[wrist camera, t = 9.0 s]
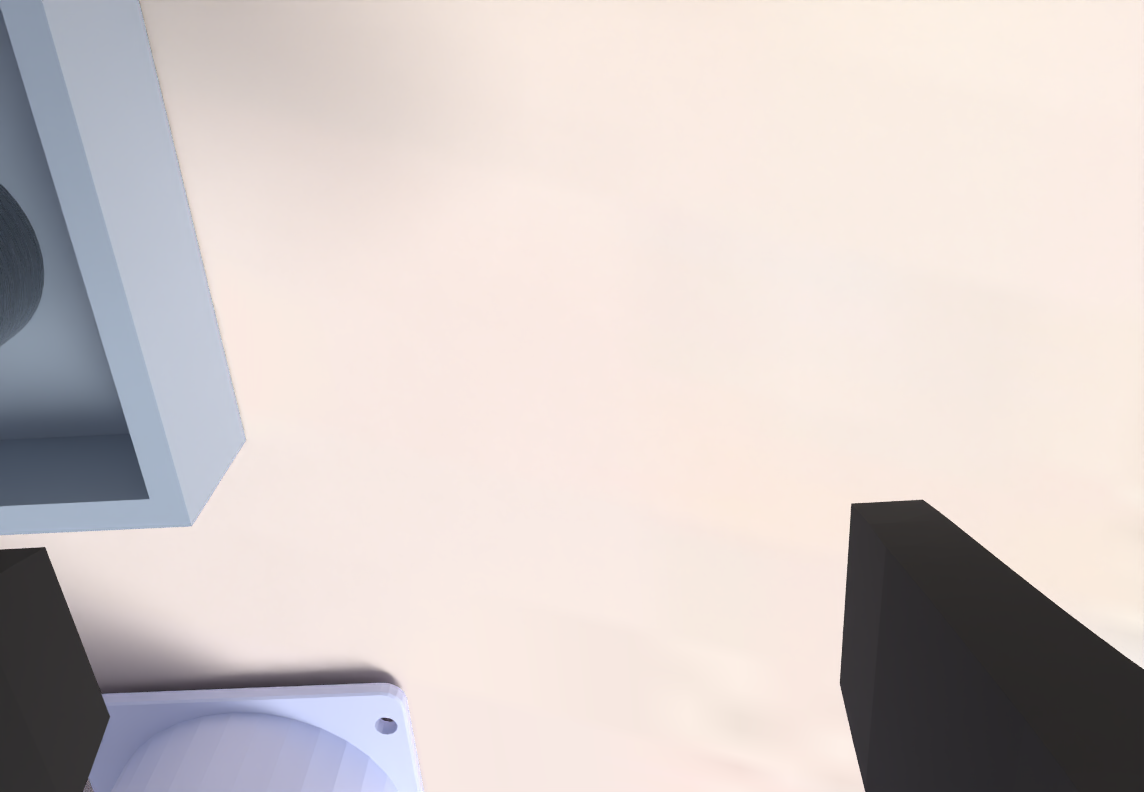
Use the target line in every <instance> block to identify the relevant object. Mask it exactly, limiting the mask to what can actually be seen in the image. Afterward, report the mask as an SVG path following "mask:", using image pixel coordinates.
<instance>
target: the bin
mask: <svg viewBox="0 0 1144 792" xmlns="http://www.w3.org/2000/svg"><path fill="white" fill-rule="evenodd" d="M0 184H2V185H3V186H4V187H5V188H6V189H7V190H8V192H9V193H10V194H11V195H12V196H13V198H14V199H15V200H16V201H17V202H18V204H19V205H20V207H21V208H22V210H23V211H24V213H25V214H26V216H27V218H28V220H29V221H30V223H31V225H32V227H33V229H34V231H35V234H36V237H37V239H38V242H39V245H40V249H41V253H42V257H43V264H44V287H43V292H42V297H41V300H40V303H39V305H38V308H37V310H36V312H35V314H34V315H33V317H32V319H31V320H30V321H29V322H28V324H27V325H26V326H25V327H24V328H23V329H22V330H21V331H20V332H19V333H17V334H16V335H15V336H14V337H12V338H11V339H10V340H9V341H7V342H6V343H5V344H3V345H2V346H1V347H0V535H14V534H35V533H57V532H78V531H100V530H122V529H143V528H165V527H187V526H192V525H193V524H194V522H195V520H196V519H197V517H198V516H199V514H200V512H201V511H202V509H203V508H204V506H205V505H206V503H207V501H208V500H209V498H210V497H211V495H212V493H213V492H214V490H215V489H216V487H217V485H218V484H219V482H220V481H221V479H222V478H223V476H224V474H225V473H226V471H227V470H228V468H229V466H230V465H231V463H232V462H233V460H234V459H235V457H236V455H237V454H238V452H239V451H240V449H241V447H242V446H243V444H244V443H245V441H246V438H245V434H244V430H243V426H242V422H241V417H240V413H239V409H238V405H237V401H236V397H235V393H234V389H233V385H232V381H231V376H230V372H229V368H228V364H227V360H226V356H225V352H224V348H223V344H222V339H221V335H220V331H219V327H218V323H217V319H216V315H215V311H214V307H213V303H212V298H211V294H210V290H209V286H208V282H207V278H206V274H205V270H204V266H203V262H202V257H201V253H200V249H199V245H198V241H197V237H196V233H195V229H194V225H193V220H192V216H191V212H190V208H189V204H188V200H187V196H186V192H185V188H184V184H183V179H182V175H181V171H180V167H179V163H178V159H177V155H176V151H175V147H174V143H173V138H172V134H171V130H170V126H169V122H168V118H167V114H166V110H165V106H164V101H163V97H162V93H161V89H160V85H159V81H158V77H157V73H156V69H155V65H154V60H153V56H152V52H151V48H150V44H149V40H148V36H147V32H146V28H145V24H144V19H143V15H142V11H141V7H140V3H139V0H0Z"/></svg>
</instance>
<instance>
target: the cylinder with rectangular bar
mask: <svg viewBox="0 0 1144 792" xmlns="http://www.w3.org/2000/svg"><path fill="white" fill-rule="evenodd" d="M43 287H44V264H43V257H42V253H41V249H40V245H39V242H38V239H37V237H36V234H35V231H34V229H33V227H32V225H31V223H30V221H29V220H28V218H27V216H26V214H25V213H24V211H23V210H22V208H21V207H20V205H19V204H18V202H17V201H16V200H15V199H14V198H13V196H12V195H11V194H10V193H9V192H8V190H7V189H6V188H5V187H4V186H3V185H2V184H0V347H1V346H2V345H3V344H5V343H6V342H7V341H9V340H10V339H11V338H12V337H14V336H15V335H16V334H17V333H19V332H20V331H21V330H22V329H23V328H24V327H25V326H26V325H27V324H28V322H29V321H30V320H31V319H32V317H33V315H34V314H35V312H36V310H37V308H38V305H39V303H40V300H41V297H42V292H43Z"/></svg>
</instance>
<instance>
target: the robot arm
mask: <svg viewBox="0 0 1144 792" xmlns="http://www.w3.org/2000/svg"><path fill="white" fill-rule="evenodd" d="M840 686H841V691H842V695H843V699H844V704H845V708H846V713H847V717H848V721H849V726H850V730H851V735H852V739H853V743H854V747H855V751H856V755H857V760H858V764H859V768H860V772H861V776H862V780H863V784H864V788H865V792H1144V669H1142V668H1141V667H1140V666H1138V665H1137V664H1135V663H1134V662H1133V661H1131V660H1130V659H1128V658H1127V657H1126V656H1124V655H1123V654H1122V653H1120V652H1119V651H1117V650H1116V649H1115V648H1113V647H1112V646H1111V645H1109V644H1108V643H1107V642H1105V641H1104V640H1103V639H1101V638H1100V637H1098V636H1097V635H1096V634H1094V633H1093V632H1092V631H1091V630H1089V629H1088V628H1087V627H1085V626H1084V625H1083V624H1081V623H1080V622H1079V621H1077V620H1076V619H1075V618H1073V617H1072V616H1071V615H1069V614H1068V613H1067V612H1065V611H1064V610H1063V609H1062V608H1060V607H1059V606H1058V605H1056V604H1055V603H1054V602H1053V601H1051V600H1050V599H1049V598H1047V597H1046V596H1045V595H1043V594H1042V593H1041V592H1040V591H1038V590H1037V589H1036V588H1034V587H1033V586H1032V585H1031V584H1029V583H1028V582H1027V581H1026V580H1024V579H1023V578H1022V577H1021V576H1019V575H1018V574H1017V573H1016V572H1014V571H1013V570H1012V569H1010V568H1009V567H1008V566H1007V565H1005V564H1004V563H1003V562H1002V561H1000V560H999V559H998V558H997V557H995V556H994V555H993V554H992V553H990V552H989V551H988V550H987V549H985V548H984V547H983V546H982V545H980V544H979V543H978V542H977V541H975V540H974V539H973V538H972V537H970V536H969V535H968V534H967V533H965V532H964V531H963V530H962V529H960V528H959V527H958V526H957V525H955V524H954V523H953V522H951V521H950V520H949V519H948V518H946V517H945V516H944V515H942V514H941V513H940V512H939V511H937V510H936V509H935V508H933V507H932V506H931V505H929V504H928V503H927V502H925V501H924V500H911V501H892V502H874V503H855V504H851V519H850V534H849V550H848V565H847V581H846V596H845V612H844V627H843V643H842V658H841V674H840ZM384 717H385V718H391V719H392V720H394V721H392V722H388V721H384V720H383V719H381V718H384ZM88 778H89V781H90V783H91V786H92V788H93V791H94V792H424V789H423V783H422V778H421V772H420V767H419V761H418V756H417V751H416V745H415V740H414V734H413V729H412V723H411V718H410V713H409V707H408V702H407V697H406V695H405V693H404V692H403V691H402V690H401V689H400V688H399V687H397V686H395V685H393V684H390V683H362V684H337V685H312V686H286V687H261V688H236V689H210V690H185V691H159V692H134V693H109V694H101V691H100V689H99V686H98V684H97V681H96V678H95V676H94V673H93V671H92V668H91V665H90V663H89V660H88V658H87V655H86V652H85V650H84V647H83V645H82V642H81V639H80V637H79V634H78V632H77V629H76V626H75V624H74V621H73V619H72V616H71V613H70V611H69V608H68V606H67V603H66V600H65V598H64V595H63V593H62V590H61V587H60V585H59V582H58V580H57V577H56V574H55V572H54V569H53V567H52V564H51V561H50V559H49V556H48V553H47V551H46V548H45V547H41V548H22V549H3V550H0V792H83V790H84V787H85V785H86V782H87V780H88Z"/></svg>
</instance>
